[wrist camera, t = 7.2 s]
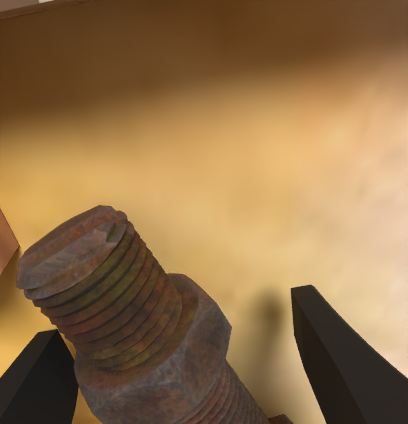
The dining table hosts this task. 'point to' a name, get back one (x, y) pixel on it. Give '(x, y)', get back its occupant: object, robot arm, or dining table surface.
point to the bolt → (135, 327)
